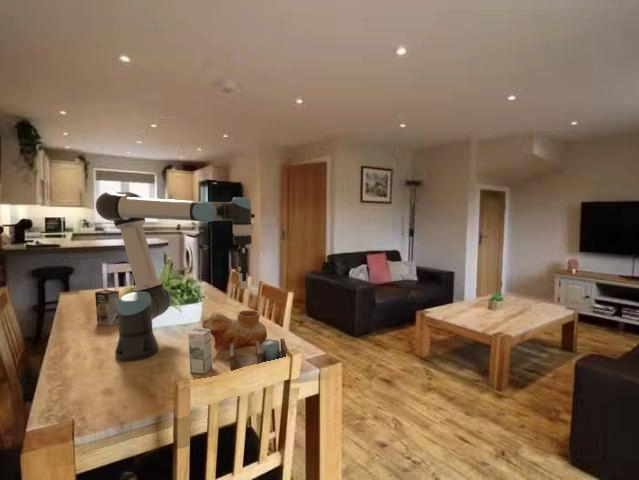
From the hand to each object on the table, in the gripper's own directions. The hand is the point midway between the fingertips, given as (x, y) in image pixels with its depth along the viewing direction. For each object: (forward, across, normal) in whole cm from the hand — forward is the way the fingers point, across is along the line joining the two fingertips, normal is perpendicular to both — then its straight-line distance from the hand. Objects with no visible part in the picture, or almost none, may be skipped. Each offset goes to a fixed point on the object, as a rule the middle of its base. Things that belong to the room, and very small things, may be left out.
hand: (243, 285), depth 152 cm
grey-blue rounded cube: (+23, -24, -8) cm, 34 cm away
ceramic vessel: (+25, -3, +3) cm, 25 cm away
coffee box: (+26, +45, +63) cm, 82 cm away
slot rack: (+24, -24, -4) cm, 34 cm away
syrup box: (+25, -24, +16) cm, 38 cm away
